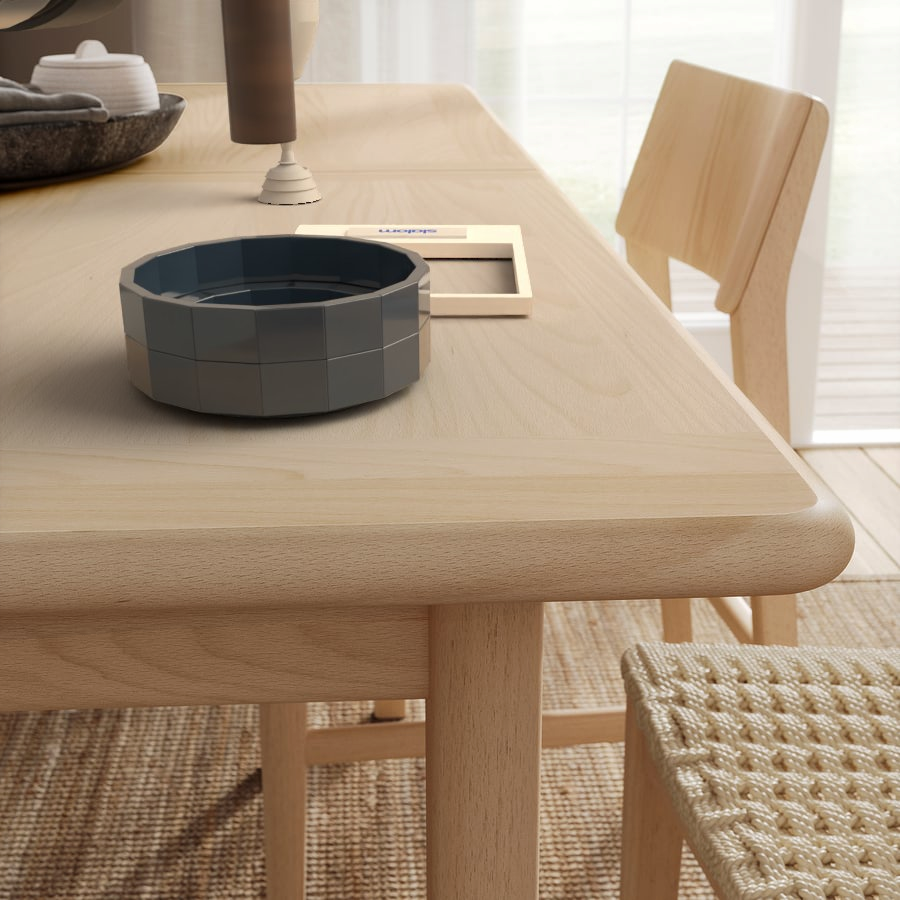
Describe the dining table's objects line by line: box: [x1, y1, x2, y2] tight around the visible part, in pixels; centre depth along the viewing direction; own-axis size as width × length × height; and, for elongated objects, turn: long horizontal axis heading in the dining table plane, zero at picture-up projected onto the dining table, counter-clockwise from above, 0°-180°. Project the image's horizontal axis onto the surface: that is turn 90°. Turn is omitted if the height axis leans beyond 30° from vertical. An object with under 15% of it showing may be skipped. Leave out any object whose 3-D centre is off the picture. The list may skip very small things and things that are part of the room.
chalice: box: [257, 0, 323, 205], centre depth 89 cm, size 7×7×18 cm
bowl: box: [118, 233, 432, 419], centre depth 52 cm, size 13×13×5 cm
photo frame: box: [293, 224, 534, 316], centre depth 70 cm, size 15×1×18 cm
